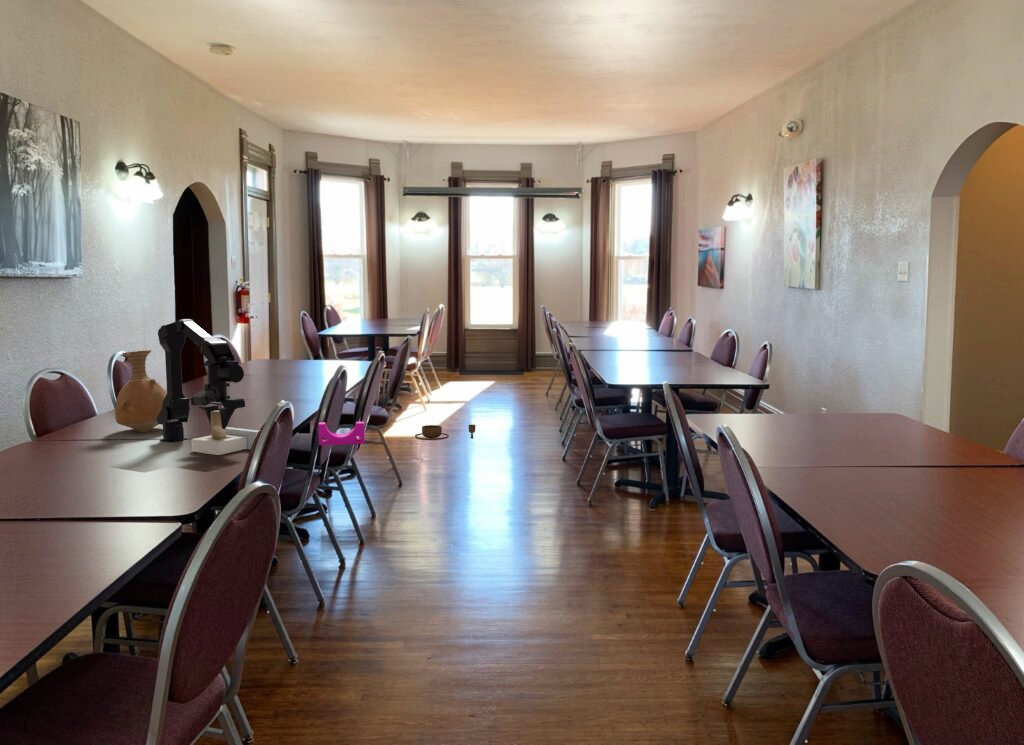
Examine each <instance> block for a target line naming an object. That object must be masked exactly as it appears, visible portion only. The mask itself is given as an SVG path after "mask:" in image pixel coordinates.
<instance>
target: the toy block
mask: <svg viewBox="0 0 1024 745" xmlns="http://www.w3.org/2000/svg"><path fill="white" fill-rule="evenodd" d="M365 431H366V430H365V421H356V422H355V425H354V428H353V429H351V430H349V431H348V432H345V433H338V432H337V433H336V432H331V430H329V428H328V426H327V424H326V422H322V421H321V422H318V446H337V445H342V446H343V445H365V443H366V442H365V440H366V439H365V435H366V434H365ZM323 438H326V439H325V440H324V439H323Z"/></svg>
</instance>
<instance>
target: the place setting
mask: <svg viewBox="0 0 1024 745" xmlns="http://www.w3.org/2000/svg"><path fill="white" fill-rule="evenodd" d="M442 431H443V428H442V425H438V424H426V425H422V426H421V432H420V433H417V434H414V439H417V440H421V441H422V442H425V441H441V440H445V439H448V438H449V437H450V436H449V434H448V433H444V432H442ZM468 432H469V434H470V439H472V440H473V439H474V433H475V432H476V424H468ZM441 435H444V436H443V437H440V436H441ZM419 436H423V437H419Z"/></svg>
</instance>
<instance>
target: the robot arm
mask: <svg viewBox="0 0 1024 745" xmlns="http://www.w3.org/2000/svg"><path fill="white" fill-rule="evenodd" d="M157 330H158V331H157V337H158V341H159V342H158V343H159V345H160V346H161V347H162V349H163V350H164V354H165V355H164V357H165V360H164V361H165V375H166V377H165V379H166V393H167V395H166V397H165V398H164V400H163V402H162V410H161V412H160V413H159V415H158V417H157V422H158V424H159V425H162V437H163V438H161V439H159V442H164V443H172V444H173V443H178V442H182V441H187V440H188V438H185V434H184V424H183V423H188V420H189V416H190V410H191V407H190V405H191V406H196V407H197V406H198V408H199V409H201V410H202V411H203V412H204V413H205V414H206V417H207V418H208V422H209V424H210V425H211V411H218V410H219V412H220V413H221V422H222V429H226V427H228V424H229V422H230V419H231V417H233V416H232V415H233V414H234V412H235V410H237V409H241V408H246V400H245V399H244V398H240V397H232V398H231V396H230V395H228V388H227V387H230V383H236V384H238V383H240V382H241V381H242V380H243V379H244V376H245V371H244V368H243V367H242V366H241V365H239V361H238V360H236V359H235V356H234V354H233V352H232V350H231V348H230V346H229V344H228V343H227V341H225V340H223V339H221V338H218V337H213V336H212V335H210V334H209V333H207V332H206V331H205V330H204V329H203V328H201V327H200V326H199V325H198V324H197V323H195V321H194V319H191V318H183V319H181V318H180V319H178V320H176V321H173V322H171V323H169V324H168V323H167V324H164V325H161V326H160V327H159V329H157ZM186 337H187V338H189V339H190V340H191V341H192V342H193V343H194V344H196V345H197V346H198V347H199V349H200V353H201V354H202V356H203V357H204V358H205V359H206V361H205V362H204V363H203V366H205V367H207V383H205V384H204V389H203V390H200V391H198V392H196V393H195V394H193V395H192V397H191V399H189V398H188V397H186V396H185V394H184V392H183V390H184V389H183V375H182V374H183V372H182V350H183V348H184V346H185V344H186ZM220 406H221V408H219V407H220Z"/></svg>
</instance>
